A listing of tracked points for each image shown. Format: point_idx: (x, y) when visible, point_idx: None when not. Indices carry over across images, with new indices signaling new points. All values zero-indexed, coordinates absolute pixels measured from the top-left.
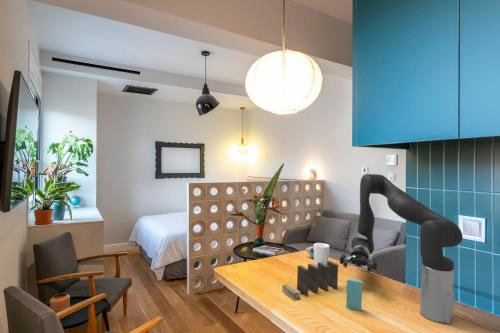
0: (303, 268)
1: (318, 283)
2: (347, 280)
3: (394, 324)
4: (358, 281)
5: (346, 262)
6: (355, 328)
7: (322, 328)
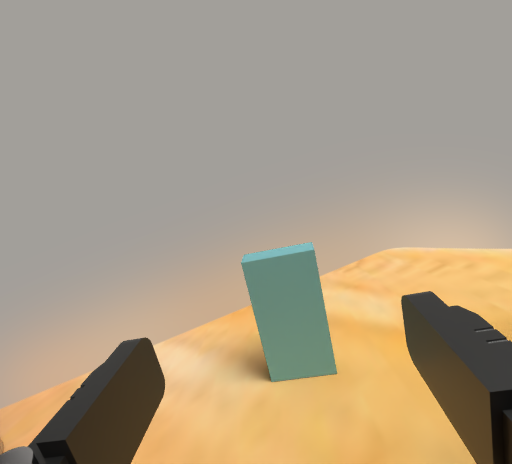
0: None
1: None
2: (310, 243)
3: (171, 349)
4: (259, 255)
5: (409, 295)
6: None
7: (349, 264)
